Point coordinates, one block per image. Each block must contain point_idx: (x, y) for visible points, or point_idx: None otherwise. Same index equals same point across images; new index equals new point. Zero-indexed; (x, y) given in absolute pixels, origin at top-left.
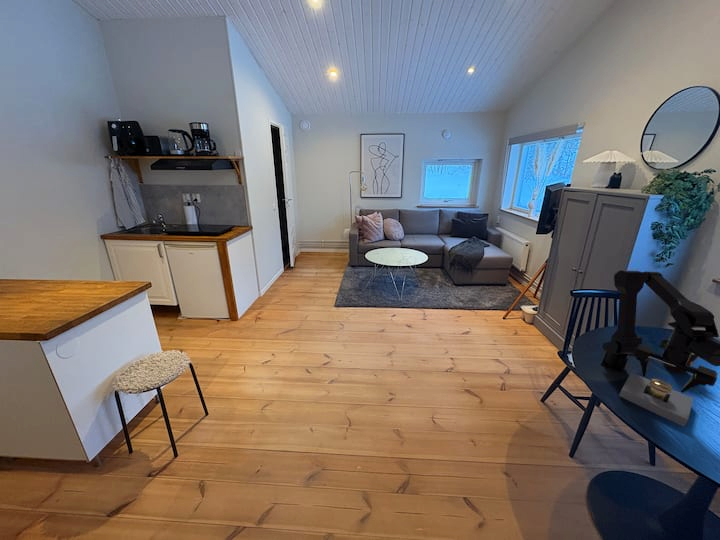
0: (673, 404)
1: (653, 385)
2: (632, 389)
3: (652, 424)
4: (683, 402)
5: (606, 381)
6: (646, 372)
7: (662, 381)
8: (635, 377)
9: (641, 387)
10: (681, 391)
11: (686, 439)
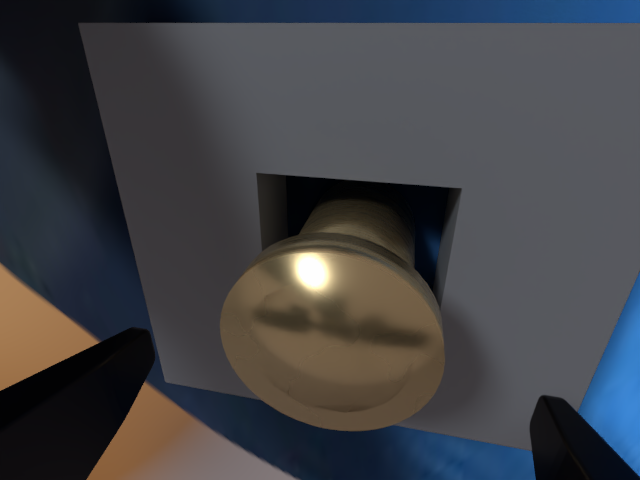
0: (476, 337)
1: (272, 394)
2: (205, 341)
3: (379, 456)
4: (576, 241)
5: (88, 230)
6: (106, 389)
7: (326, 273)
8: (147, 115)
9: (238, 262)
10: (534, 446)
11: (530, 475)
